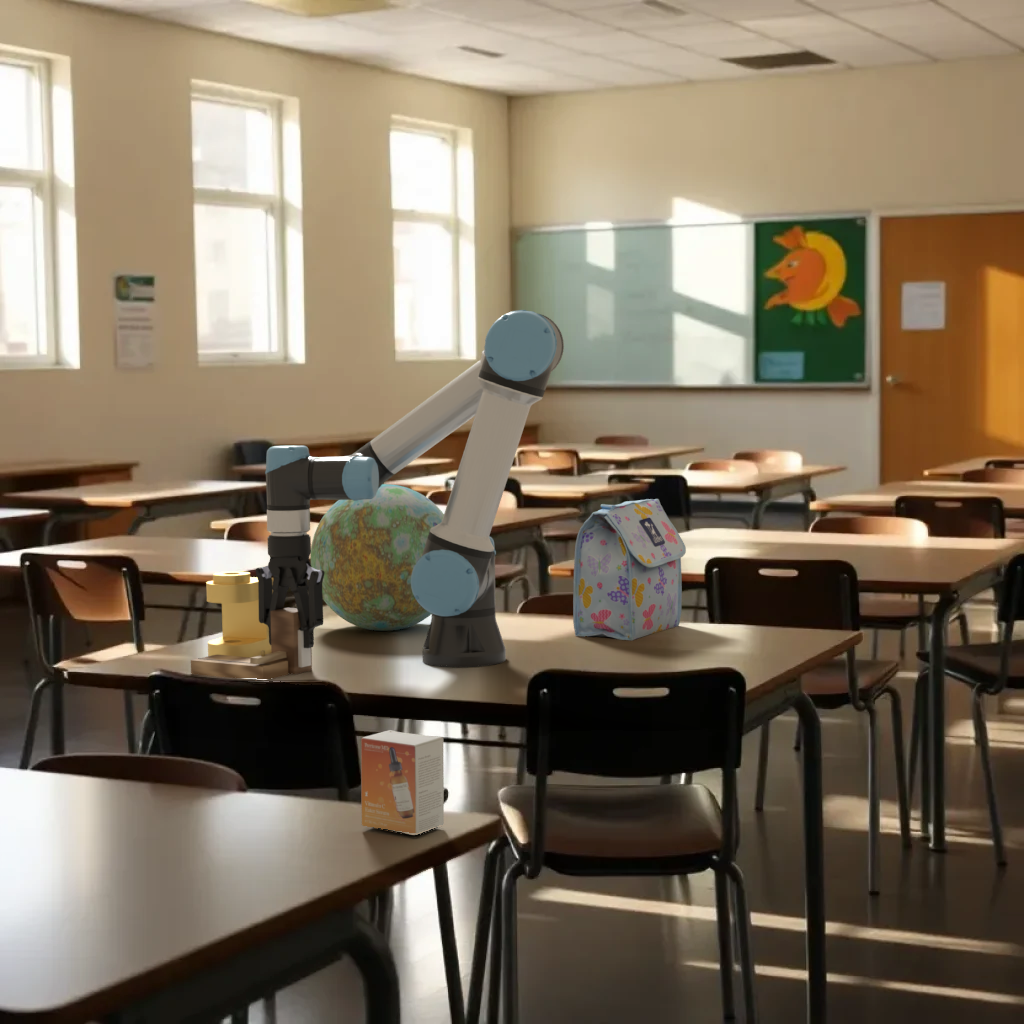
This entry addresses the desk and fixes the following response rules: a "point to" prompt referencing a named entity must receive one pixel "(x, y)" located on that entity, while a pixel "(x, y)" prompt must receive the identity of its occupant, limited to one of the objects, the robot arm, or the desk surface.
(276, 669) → the board
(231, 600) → the clamp
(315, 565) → the decorative globe
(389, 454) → the robot arm
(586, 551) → the lunch bag
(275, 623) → the taupe upright block
